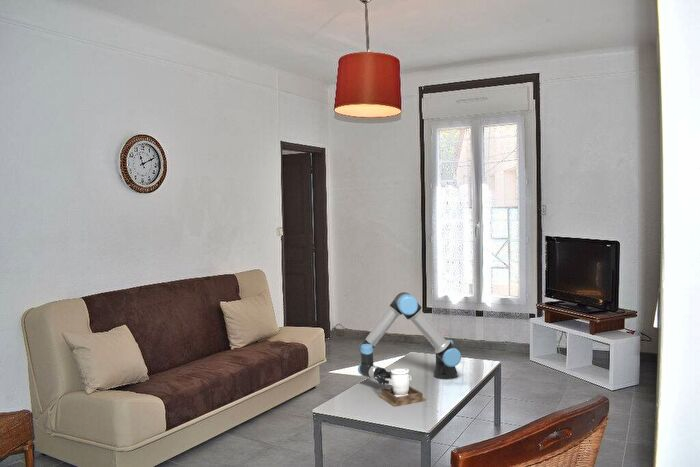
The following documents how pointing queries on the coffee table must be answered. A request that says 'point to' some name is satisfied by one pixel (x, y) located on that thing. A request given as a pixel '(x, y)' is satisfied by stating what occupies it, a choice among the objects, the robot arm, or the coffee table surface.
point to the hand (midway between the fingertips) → (402, 380)
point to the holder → (401, 397)
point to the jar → (400, 381)
